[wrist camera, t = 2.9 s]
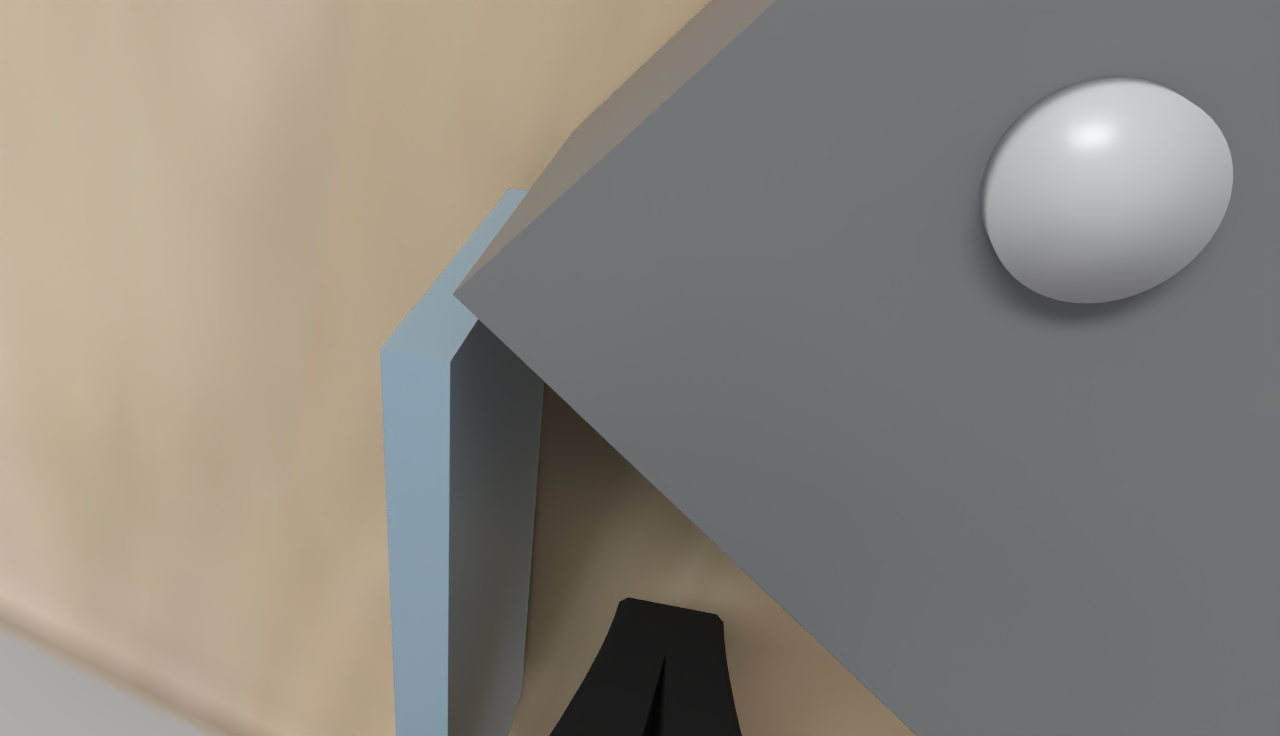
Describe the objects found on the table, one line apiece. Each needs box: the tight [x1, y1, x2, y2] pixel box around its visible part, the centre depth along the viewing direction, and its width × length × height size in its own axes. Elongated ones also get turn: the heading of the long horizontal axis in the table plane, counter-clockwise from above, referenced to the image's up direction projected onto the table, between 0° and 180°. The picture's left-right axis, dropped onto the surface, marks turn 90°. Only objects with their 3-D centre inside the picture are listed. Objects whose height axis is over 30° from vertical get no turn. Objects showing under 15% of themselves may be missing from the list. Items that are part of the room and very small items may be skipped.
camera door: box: [380, 188, 544, 736], centre depth 12 cm, size 9×1×4 cm, turn 173°
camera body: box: [453, 0, 1280, 736], centre depth 9 cm, size 11×6×5 cm, turn 43°
